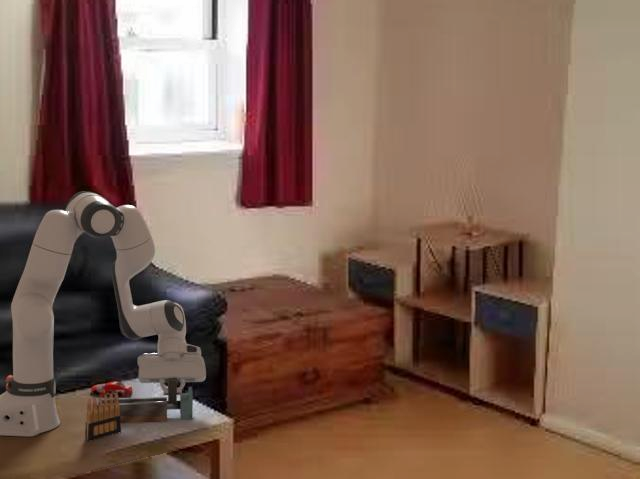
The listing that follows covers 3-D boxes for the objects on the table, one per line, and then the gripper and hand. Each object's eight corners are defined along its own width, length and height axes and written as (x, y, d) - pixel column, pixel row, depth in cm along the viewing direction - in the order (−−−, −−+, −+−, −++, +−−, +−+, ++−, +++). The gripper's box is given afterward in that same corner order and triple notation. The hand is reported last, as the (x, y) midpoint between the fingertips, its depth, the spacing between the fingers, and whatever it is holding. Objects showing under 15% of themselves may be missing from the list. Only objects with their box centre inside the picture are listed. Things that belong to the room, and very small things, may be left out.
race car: (88, 395, 310) (88, 383, 310) (94, 390, 316) (94, 378, 315) (128, 399, 308) (128, 387, 308) (134, 393, 314) (134, 381, 313)
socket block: (180, 419, 292) (180, 393, 291) (180, 412, 298) (180, 387, 297) (192, 418, 293) (192, 393, 291) (191, 411, 299) (191, 386, 297)
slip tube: (133, 412, 291) (133, 381, 289) (133, 408, 294) (133, 378, 292) (187, 410, 294) (187, 380, 292) (187, 407, 296) (187, 377, 295)
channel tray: (90, 424, 286) (90, 408, 285) (92, 413, 295) (92, 397, 294) (167, 422, 290) (167, 406, 289) (166, 411, 298) (166, 395, 297)
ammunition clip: (88, 441, 274) (88, 400, 271) (85, 439, 275) (84, 398, 273) (121, 432, 281) (121, 392, 279) (117, 430, 282) (117, 390, 280)
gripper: (137, 348, 296) (137, 390, 289) (205, 347, 300) (206, 388, 292) (137, 358, 301) (137, 399, 294) (204, 357, 305) (205, 397, 297)
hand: (172, 394), depth 293 cm, fingers closed on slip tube, 2 cm apart
